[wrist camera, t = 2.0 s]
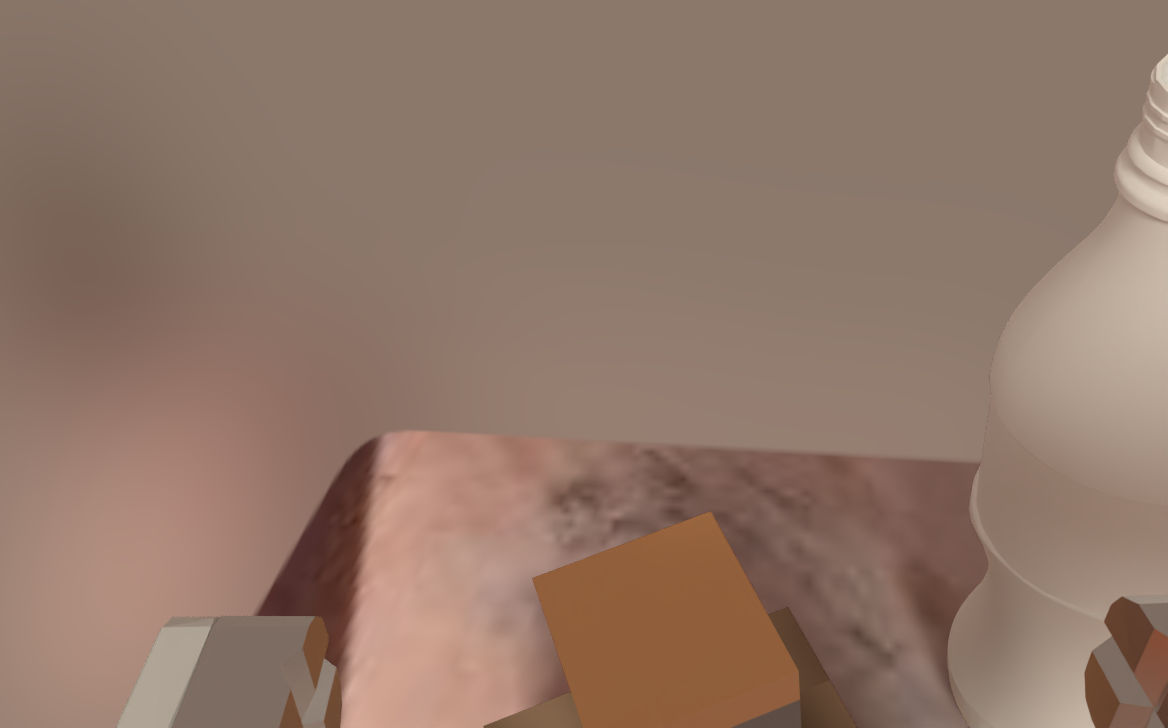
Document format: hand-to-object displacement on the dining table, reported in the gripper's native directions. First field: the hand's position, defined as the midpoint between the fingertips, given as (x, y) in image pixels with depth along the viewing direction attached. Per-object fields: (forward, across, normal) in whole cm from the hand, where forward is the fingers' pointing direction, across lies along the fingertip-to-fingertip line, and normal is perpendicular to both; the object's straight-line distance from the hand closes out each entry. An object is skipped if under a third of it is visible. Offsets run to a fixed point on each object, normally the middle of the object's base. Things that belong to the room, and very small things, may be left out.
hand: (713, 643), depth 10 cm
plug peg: (+10, -2, +24) cm, 26 cm away
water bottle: (+15, -15, +22) cm, 31 cm away
